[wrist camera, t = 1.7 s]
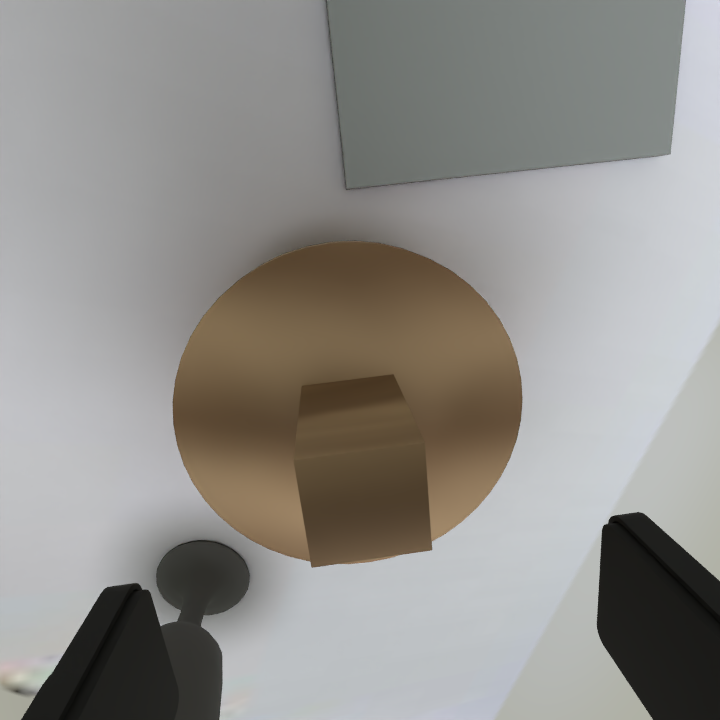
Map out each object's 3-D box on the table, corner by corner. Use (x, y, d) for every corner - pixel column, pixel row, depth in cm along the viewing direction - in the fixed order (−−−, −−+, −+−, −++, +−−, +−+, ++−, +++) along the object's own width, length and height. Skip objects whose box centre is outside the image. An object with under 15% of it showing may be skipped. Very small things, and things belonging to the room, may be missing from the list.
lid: (143, 262, 15) (33, 292, 9) (511, 221, 16) (622, 225, 10) (218, 566, 19) (174, 718, 13) (511, 524, 19) (590, 653, 14)
